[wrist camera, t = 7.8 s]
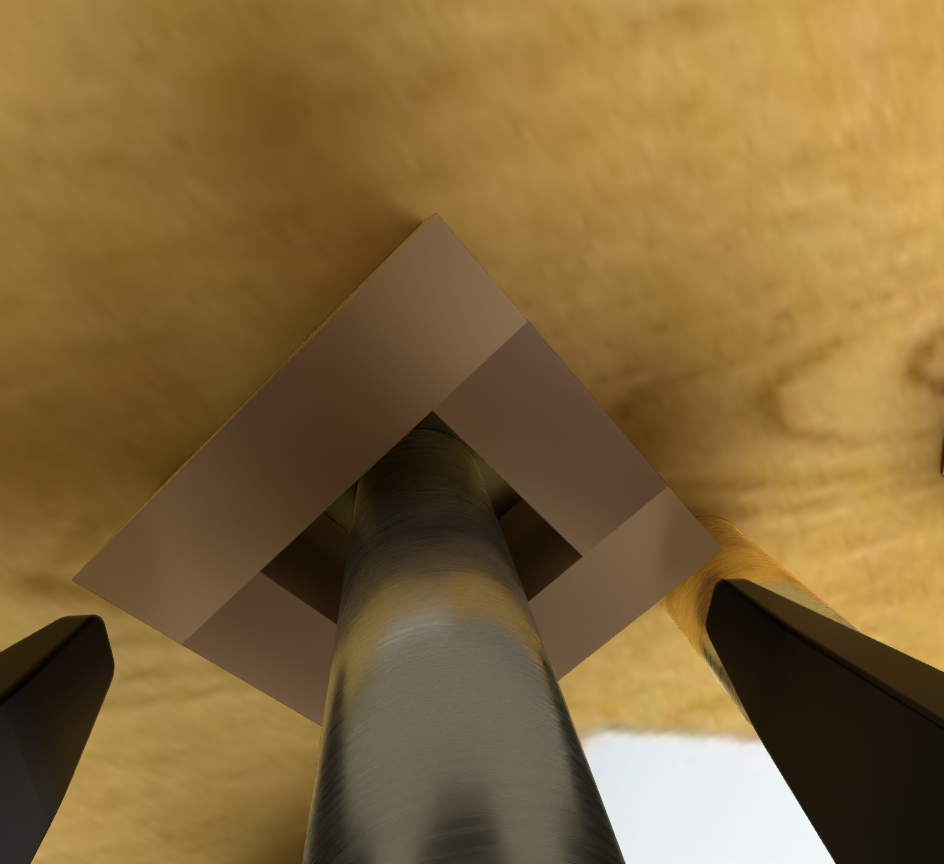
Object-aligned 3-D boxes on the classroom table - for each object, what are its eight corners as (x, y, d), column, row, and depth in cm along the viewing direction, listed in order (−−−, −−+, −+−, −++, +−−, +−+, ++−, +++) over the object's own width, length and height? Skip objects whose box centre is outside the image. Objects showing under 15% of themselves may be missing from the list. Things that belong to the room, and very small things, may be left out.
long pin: (419, 558, 12) (473, 1223, 4) (331, 488, 11) (158, 1175, 3) (504, 483, 12) (760, 1047, 4) (421, 403, 11) (508, 925, 3)
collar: (417, 674, 14) (424, 786, 11) (154, 492, 11) (70, 580, 8) (649, 481, 12) (722, 549, 10) (424, 220, 10) (436, 213, 7)
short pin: (680, 620, 14) (780, 752, 11) (625, 564, 13) (714, 689, 10) (760, 558, 14) (893, 673, 10) (710, 496, 13) (836, 598, 9)
